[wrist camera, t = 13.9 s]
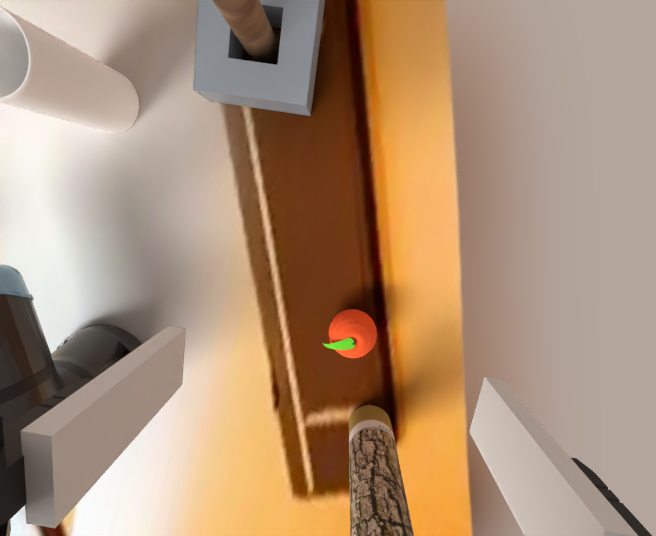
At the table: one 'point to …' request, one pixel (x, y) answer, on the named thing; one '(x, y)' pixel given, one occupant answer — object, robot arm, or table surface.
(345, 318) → the clementine
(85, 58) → the cup
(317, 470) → the table surface
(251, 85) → the socket
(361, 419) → the paper tube
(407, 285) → the table surface
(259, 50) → the dowel
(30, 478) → the robot arm
